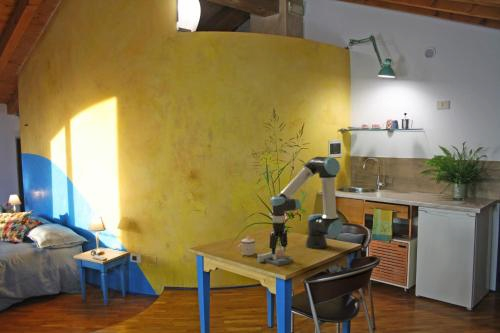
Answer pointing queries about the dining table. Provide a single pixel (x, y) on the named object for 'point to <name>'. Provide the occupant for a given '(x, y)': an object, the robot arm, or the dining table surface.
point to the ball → (279, 253)
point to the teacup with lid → (247, 246)
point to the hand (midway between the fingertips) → (278, 258)
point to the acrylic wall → (264, 257)
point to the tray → (278, 261)
